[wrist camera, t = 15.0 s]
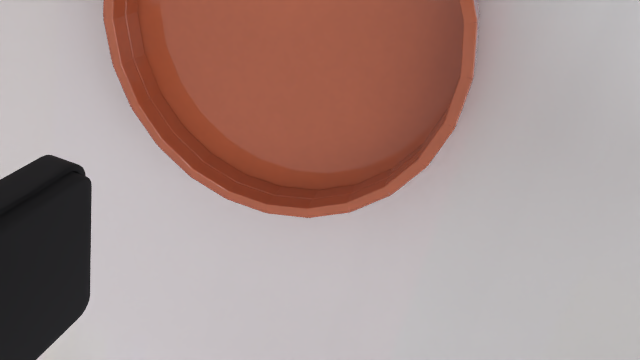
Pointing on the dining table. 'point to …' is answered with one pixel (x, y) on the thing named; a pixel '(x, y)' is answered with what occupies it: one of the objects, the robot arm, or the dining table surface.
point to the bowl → (296, 92)
